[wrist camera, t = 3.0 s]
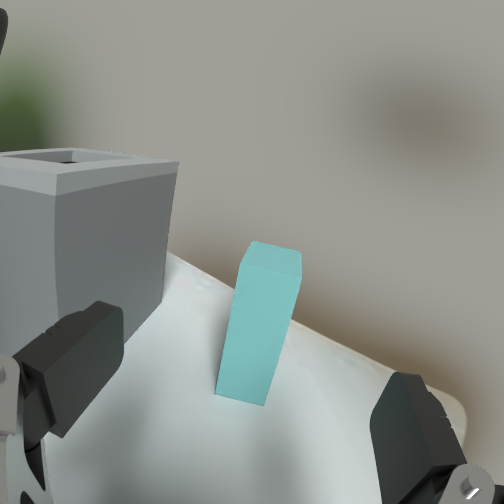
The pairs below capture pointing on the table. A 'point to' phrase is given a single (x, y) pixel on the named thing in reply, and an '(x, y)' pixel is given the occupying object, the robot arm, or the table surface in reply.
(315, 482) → the table surface
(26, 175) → the slot box
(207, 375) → the table surface
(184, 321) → the table surface
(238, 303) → the teal rectangular block
